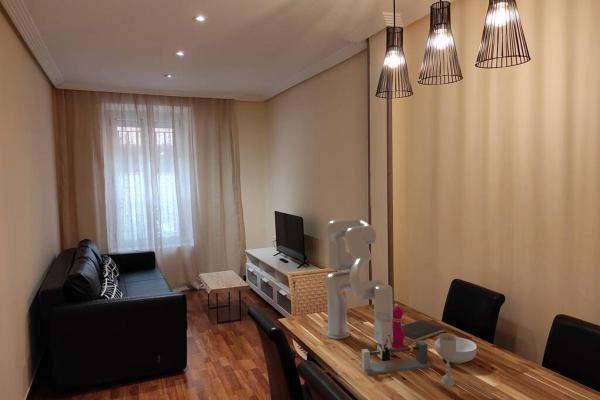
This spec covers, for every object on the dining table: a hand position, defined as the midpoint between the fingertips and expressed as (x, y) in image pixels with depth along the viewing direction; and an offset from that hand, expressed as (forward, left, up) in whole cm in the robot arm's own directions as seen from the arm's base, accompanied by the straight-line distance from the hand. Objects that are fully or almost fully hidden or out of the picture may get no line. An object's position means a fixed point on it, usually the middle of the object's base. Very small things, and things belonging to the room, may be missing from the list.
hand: (383, 357), depth 174 cm
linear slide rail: (0, +5, -4) cm, 7 cm away
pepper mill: (-20, +15, -5) cm, 25 cm away
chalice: (+17, +19, -5) cm, 26 cm away
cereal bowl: (0, +33, -5) cm, 33 cm away
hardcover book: (-33, +32, -5) cm, 46 cm away
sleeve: (0, 0, 0) cm, 0 cm away
